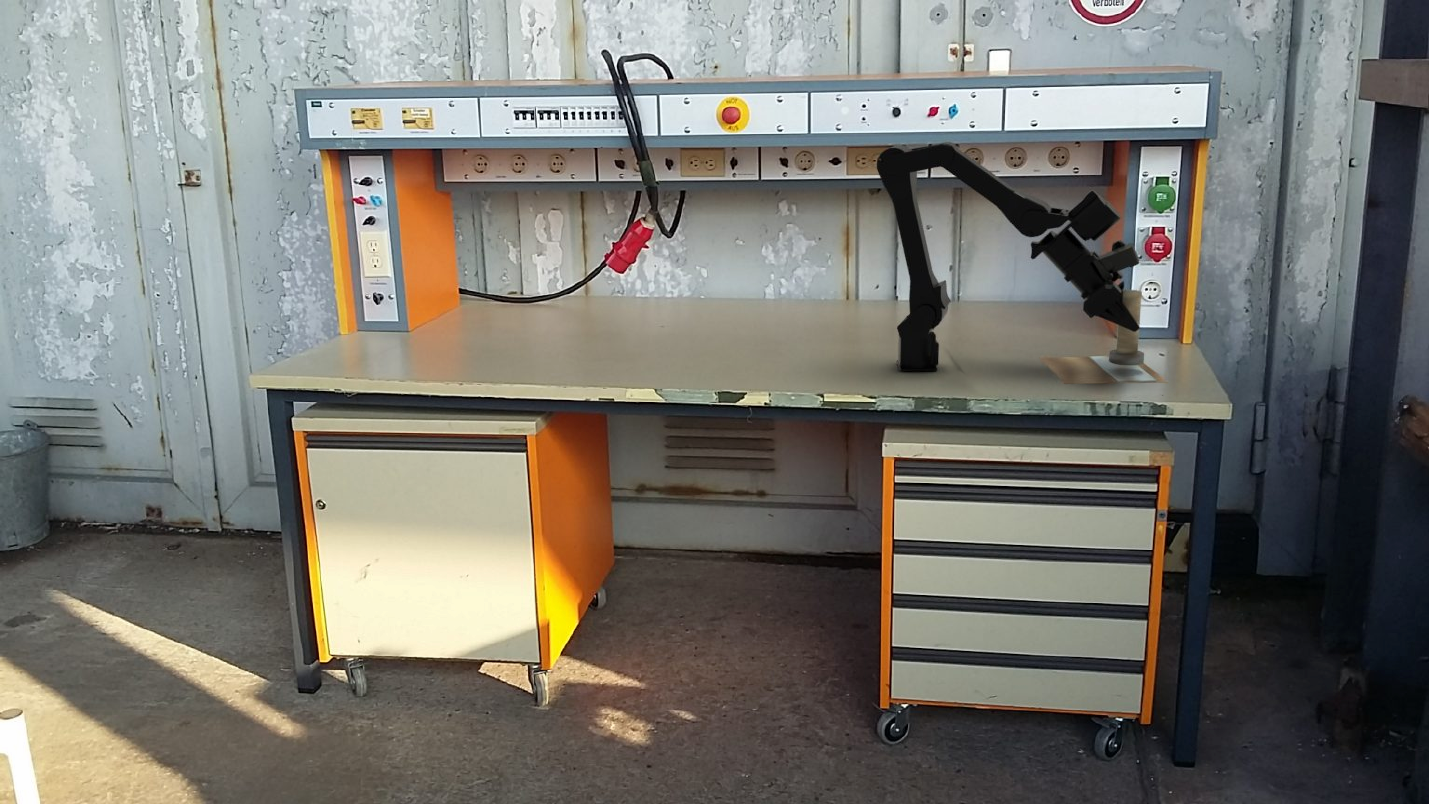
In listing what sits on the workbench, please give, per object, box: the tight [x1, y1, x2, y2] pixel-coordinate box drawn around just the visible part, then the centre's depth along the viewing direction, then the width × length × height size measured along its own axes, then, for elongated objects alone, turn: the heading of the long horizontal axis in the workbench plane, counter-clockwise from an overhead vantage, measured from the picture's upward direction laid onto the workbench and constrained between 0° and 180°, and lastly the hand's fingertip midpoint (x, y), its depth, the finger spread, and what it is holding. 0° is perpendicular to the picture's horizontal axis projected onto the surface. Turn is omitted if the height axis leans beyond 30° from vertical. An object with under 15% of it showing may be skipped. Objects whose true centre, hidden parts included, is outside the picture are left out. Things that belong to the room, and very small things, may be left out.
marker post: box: [1108, 289, 1145, 365], centre depth 206 cm, size 6×6×12 cm
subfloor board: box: [1039, 355, 1169, 385], centre depth 211 cm, size 17×18×1 cm
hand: (1137, 327), depth 205 cm, fingers closed on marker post, 3 cm apart
